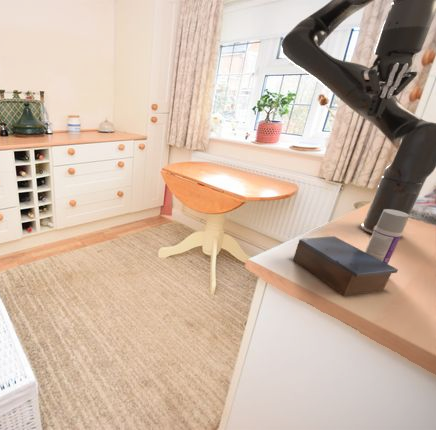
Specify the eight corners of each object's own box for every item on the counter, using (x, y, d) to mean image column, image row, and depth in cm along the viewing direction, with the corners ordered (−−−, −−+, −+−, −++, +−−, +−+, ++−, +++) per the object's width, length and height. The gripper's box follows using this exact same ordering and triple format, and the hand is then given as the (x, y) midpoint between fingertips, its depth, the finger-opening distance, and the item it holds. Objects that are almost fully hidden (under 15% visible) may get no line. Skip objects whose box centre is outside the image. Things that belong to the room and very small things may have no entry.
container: (374, 264, 74) (399, 209, 68) (388, 275, 69) (416, 217, 63) (355, 262, 74) (377, 208, 68) (367, 273, 70) (393, 216, 64)
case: (383, 290, 64) (392, 270, 61) (343, 295, 62) (352, 275, 60) (327, 256, 76) (333, 239, 74) (292, 259, 74) (298, 242, 72)
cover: (396, 272, 61) (398, 269, 60) (356, 277, 59) (357, 274, 58) (333, 238, 74) (334, 236, 74) (298, 241, 72) (299, 238, 72)
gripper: (399, 22, 56) (366, 116, 63) (451, 26, 58) (414, 117, 65) (361, 29, 62) (335, 114, 69) (410, 33, 65) (380, 114, 72)
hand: (373, 115), depth 67 cm, fingers closed
